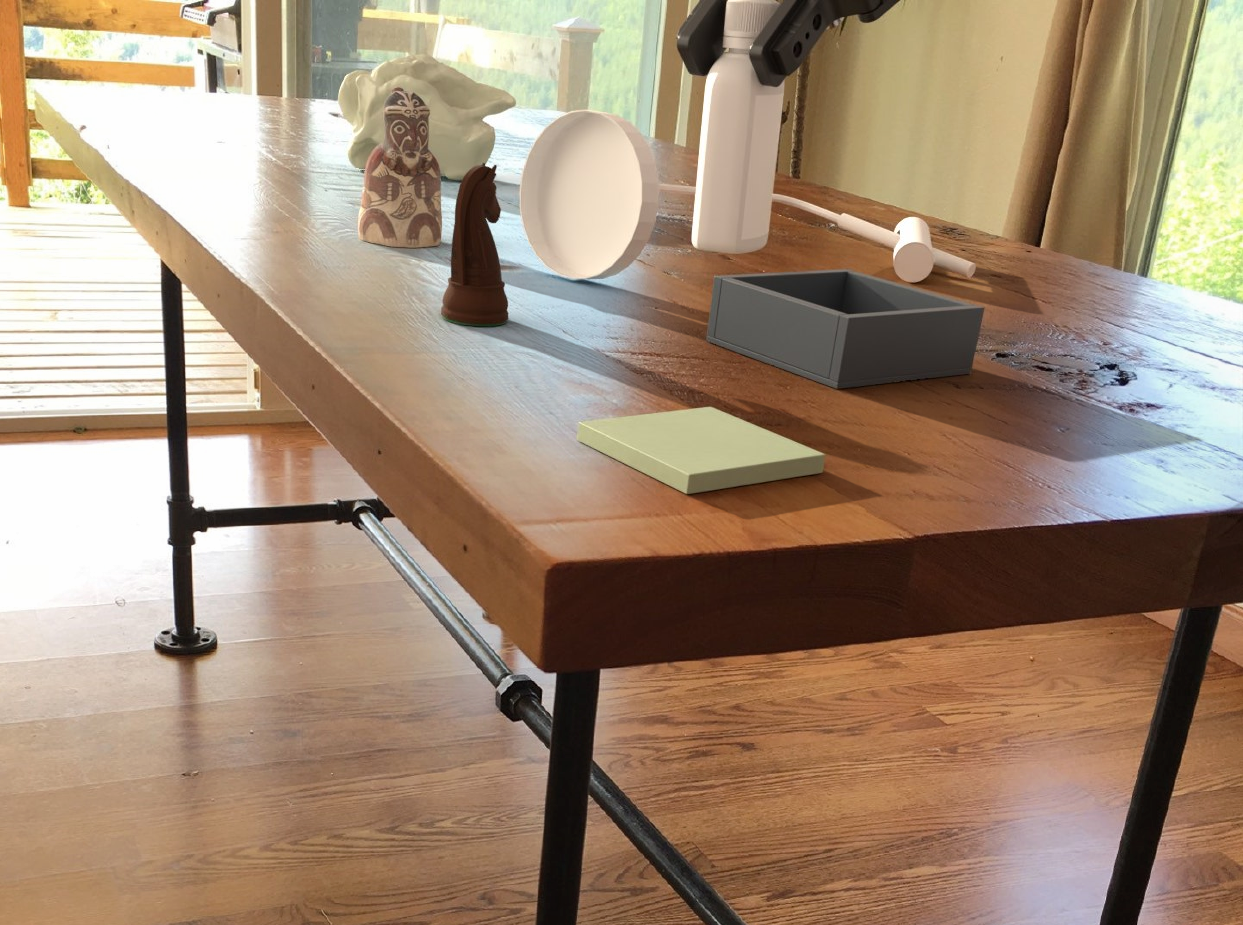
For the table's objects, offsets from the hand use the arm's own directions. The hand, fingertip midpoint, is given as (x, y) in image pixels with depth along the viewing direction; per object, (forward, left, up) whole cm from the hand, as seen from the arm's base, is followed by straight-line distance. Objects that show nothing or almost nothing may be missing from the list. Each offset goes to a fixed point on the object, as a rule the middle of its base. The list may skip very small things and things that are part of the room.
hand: (725, 65), depth 63 cm
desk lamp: (+40, -45, -19) cm, 63 cm away
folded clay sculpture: (+95, -41, -19) cm, 105 cm away
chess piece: (+30, -7, -19) cm, 36 cm away
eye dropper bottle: (0, -2, -8) cm, 8 cm away
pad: (0, -2, -18) cm, 19 cm away
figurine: (+58, -17, -19) cm, 63 cm away
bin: (+14, -26, -18) cm, 35 cm away
